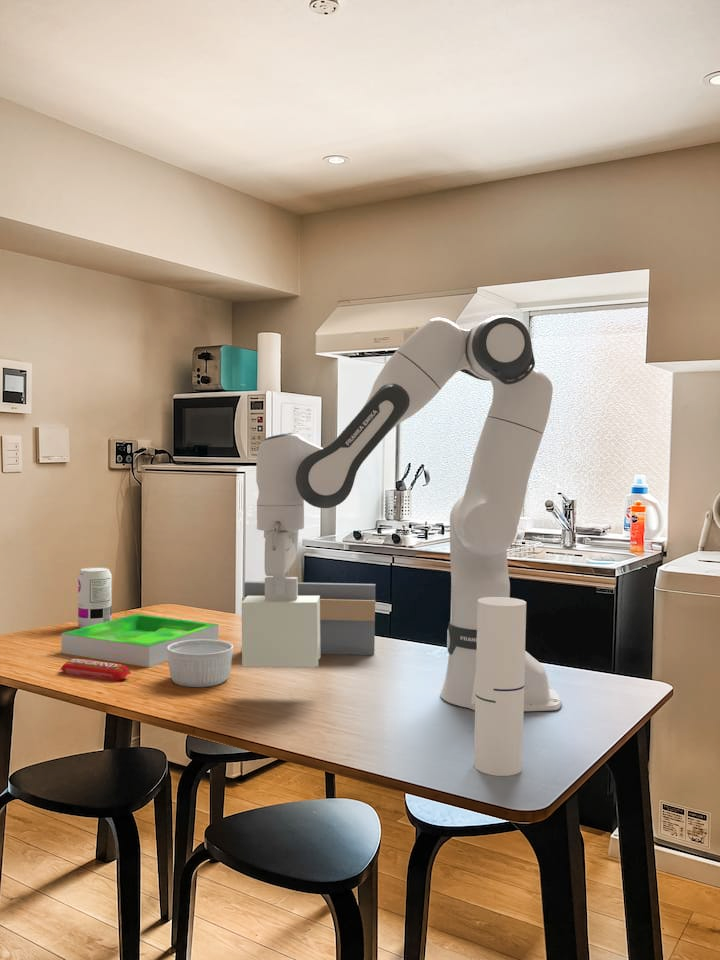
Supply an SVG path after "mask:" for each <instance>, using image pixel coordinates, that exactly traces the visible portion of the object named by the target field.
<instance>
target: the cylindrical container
mask: <svg viewBox="0 0 720 960" xmlns="http://www.w3.org/2000/svg"><path fill="white" fill-rule="evenodd" d="M526 624H527V601H525V600H524V599H520V598H516V597H510V598H508V597H485V598H480V599H478V607H477V651H476V696H475V711H474V740H473V741H474V743H473V744H474V745H473V746H474V749H473V750H474V751H473V767H474V768H475V769H476V770H477V771H479V772H480V773H483V774H486V775H489V776H499V777H507V776H509V777H510V776H515V775H518V774H520V773H521V772H522V770H523V752H524V750H523V746H524V742H523V741H524V712H525V711H524V674H525V651H526V629H527V625H526Z"/></svg>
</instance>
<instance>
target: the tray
mask: <svg viewBox="0 0 720 960" xmlns="http://www.w3.org/2000/svg"><path fill="white" fill-rule="evenodd" d="M197 639H209V640H219V624H218V623H212V622H211V623H210V622H203V621H196V620H188V619H181V618H180V619H179V618H171V617H164V616H156V615H155V616H154V615H149V614H140V613H134V614H130V615H126V616H123V617H119V618H116V619H111V620H110V621H107V622H103V623H99V624H95V625H91V626H88V627H84V628H80V627H79V628H77V629H73V630H68V631H66V632H62V633H61V640H60V641H61V646H60V648H61V650H60V651H61V654H65V655H72V656H76V657H77V656H79V657H85V658H91V659H97V660H103V661H107V662H115V663H119V664H127V665H132V666H133V665H134V666H139V667H146V668H151V667H155V666H157V665H159V664H162V663H165V662H169V660H168V655H167V647H168V646H169V645H170V644H172V643H176V642H180V641H186V640H197Z"/></svg>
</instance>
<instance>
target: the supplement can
mask: <svg viewBox="0 0 720 960" xmlns="http://www.w3.org/2000/svg"><path fill="white" fill-rule="evenodd" d="M112 576H113V575H112V572H111V570H110V568H109V567H103V566H102V567H100V566H99V567H95V566H93V567H84V568H80V572H79V573H78V576H77V578H78V579H77V588H78V589H77V626H78V628H79V629H80V628H84V627H88V626H91V625H95V624H99V623H103V622H107V621H110V620H112V581H113V580H112V579H113V578H112Z"/></svg>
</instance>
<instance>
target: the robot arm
mask: <svg viewBox="0 0 720 960" xmlns="http://www.w3.org/2000/svg"><path fill="white" fill-rule="evenodd" d="M535 365H536V361H535V356H534V350H533V345H532V338H531V335H530V332H529V330H528V328H527V327H526V326H525V325H524V323H523V322H522V321H521V320H519V319H517V318H515V317H513V316H510V315H509V316H508V315H505V314H504V315H500V314H499V315H495V316H494V315H493V316H491V317H489V318H487V319H485V320H483V321H481V322H480V323H478V324H476V326H475V327H472V328H471V329H463V328H461V327H460V326H458V324H457V323H455V322H454V321H451V320H449V319H446V318H442V317H435V318H431V319H429V320H428V321H426V322H425V323H424V324H423V325H421V326H420V327H419V328H418V329H417V330H415V331H414V332H413V333H412V334H411V335H410V336H409V337H407V339H406V340H405V341H404V342H402V344H401V345H400V346H399V347H398V348H397V349H396V350H395V351H394V353H393V354H392V356H390V358H389V359H388V360H387V361H386V363H385V364H384V366H383V368H382V369H381V370H380V372H379V374H378V375H377V378H376V379H375V381H374V383H373V385H372V388H371V392H370V393H369V396H368V398H367V400H366V401H365V404H364V405H363V407H362V408H361V410H360V411H358V413H357V414H356V416H355V417H354V418H353V419H352V420H351V421H350V422H349V423H348V425H347V426H346V427H345V428H344V430H342V432H341V433H340V434H339V435H338V436H337V437H336V438H335V439H334V441H332V442H331V443H330V444H329V445H327V446H326V447H321V446H319V445H316V444H314V443H313V442H311V441H308V440H307V439H305V438H303V437H302V436H301V435H300V434H299V433H297V432H288V433H281V434H275V435H272V436H268V437H266V438H264V439H263V440H262V441H261V442H260V444H259V445H258V448H257V455H256V465H255V466H256V470H255V472H256V474H255V477H256V481H255V482H256V485H257V489H258V490H257V491H258V496H257V499H256V526H257V527H256V529H257V530H259V531H263V538H264V573H265V574H264V575H265V576H266V577H273V578H274V584H275V594H276V595H284V594H285V577H289V572H290V571H289V570H290V568H291V567H292V566H293V564H294V563H295V561H296V558H297V551H298V542H299V541H298V540H299V531H300V530H304V528H305V507H304V506H305V504H304V503H305V502H306V503H307V504H309V505H310V506H312V507H315V508H319V509H330V508H331V509H332V508H335V507H337V506H338V505H341V504H342V503H343V502H344V501H345V500H347V498H348V496H349V495H350V494H351V491H352V489H353V488H354V487H353V486H354V483H355V478H356V475H357V473H358V471H359V468H360V467H361V465H362V464H363V463H364V461H365V460H366V459H367V458H368V457H369V455H370V454H371V453H372V452H373V451H374V450H375V449H376V447H377V446H378V445H379V444H380V443H381V441H382V440H383V439H384V438H385V437H386V436H387V435H388V433H390V432H391V430H392V429H394V428H395V427H396V426H398V425H399V424H401V423H403V422H404V421H405V420H407V419H409V418H411V417H412V416H414V415H415V414H416V413H417V412H419V411H421V410H422V409H423V408H424V407H425V406H426V405H428V403H430V401H431V400H433V399H434V397H436V395H437V394H438V393H439V392H440V391H441V389H442V388H443V387H444V386H445V385H446V384H447V382H449V380H450V379H451V378H452V377H453V376H454V375H455V374H457V373H458V372H462V373H463V374H465V375H468V376H470V377H472V378H475V379H477V380H479V381H480V380H481V381H486V382H487V381H490V382H491V385H492V400H491V401H492V402H491V405H490V407H489V410H488V412H487V415H486V418H485V421H484V423H483V425H482V426H483V427H482V429H481V432H480V436H479V438H478V440H477V441H478V442H477V445H476V447H475V451H474V453H473V457H472V463H471V466H470V471H469V476H468V479H467V483H466V487H465V491H464V494H463V496H461V497H460V498H458V500H457V501H455V503H454V504H453V506H452V509H451V511H450V515H449V552H450V553H449V554H450V555H449V557H450V577H451V579H450V580H451V581H450V583H451V584H450V585H451V586H450V591H451V592H450V621H449V622H448V627H447V630H446V631H447V634H446V636H447V637H446V648H447V653H448V658H447V664H446V672H445V677H444V682H443V685H442V689H441V690H440V691H441V692H440V697H441V699H442V700H444V702H447V703H449V704H451V705H455V706H458V707H463V708H468V709H470V710H473V711H474V712H475V696H476V651H477V607H478V599H480V598H485V597H508V598H511V596H510V595H511V582H510V576H509V566H508V565H509V564H508V551H507V550H508V549H509V547H511V545H512V544H513V543H514V541H515V539H516V535H517V531H518V527H519V523H520V519H521V515H522V511H523V508H524V503H525V498H526V494H527V489H528V485H529V484H528V483H529V479H530V477H531V476H530V475H531V472H532V470H533V469H532V468H533V466H534V463H535V460H536V457H537V453H538V451H539V448H540V445H541V442H542V439H543V436H544V433H545V431H546V427H547V424H548V420H549V415H550V410H551V405H552V398H553V383H552V381H551V380H550V378H549V377H548V376H547V375H545V373H543V372H541V371H540V370H537V369H535ZM561 707H562V699H561V695H559V693H558V692H557V691H556V690H555V689H553V688H552V687H550V684H549V678H548V674H547V671H546V669H545V668H544V666H543V664H541V662H539V661H538V660H537V659H536V658H535V657H533V656H532V655H531V654H530V653H529V652H528V651H526V650H525V674H524V712H544V711H558V710H559V709H560V708H561Z"/></svg>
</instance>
